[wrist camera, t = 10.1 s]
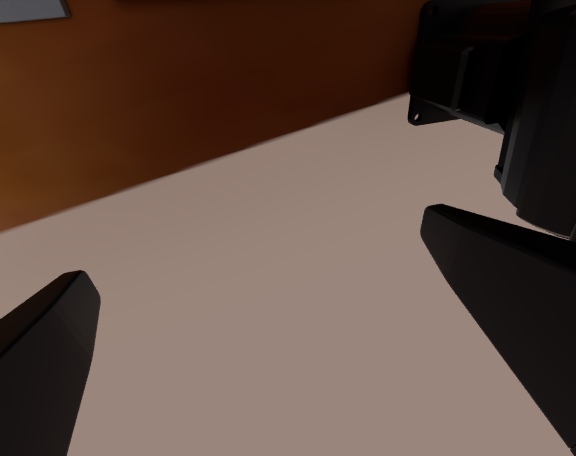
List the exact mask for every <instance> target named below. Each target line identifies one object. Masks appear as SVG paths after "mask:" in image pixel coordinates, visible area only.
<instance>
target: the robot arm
mask: <svg viewBox="0 0 576 456" xmlns="http://www.w3.org/2000/svg"><path fill="white" fill-rule="evenodd" d="M432 7H434V14H433V15H432V16H431V15H430V10H431V8H432ZM409 94H410V103H409V111H408V122H409V123H410V124H412V125H415V126H418V125H425V124H431V123H437V122H444V121H450V120H456V119H463V120H465V121H468V122H471V123H474V124H476V125H479V126H481V127H484V128H487V129H490V130H492V131H495V132H498V133H500V134H503V135H504V138H503V143H502V148H501V153H500V158H499V162H498V165H496V166H495V171H494V177H495V178H496V179H497V180H498V181H499V183H500V184H501V188H502V192H503V195H504V196H505V197H506V198H507V199H508V200H509V201H510V202H511V203H512V204H513V205H514V206H515V207H516V208H517V211H516V215H517V216H518V217H519V218H521V219H522V220H524V221H526V222H528V223H530V224H532V225H533V226H535V227H537V228H539V229H542V230H545V231H547V232H549V233H552V234H554V235H556V236H559V237H563V238H566V239H569V240H566V239H562V238H558V237H555V236H552V235H548V234H545V233H542V232H538V231H535V230H531V229H528V228H524V227H521V226H517V225H514V224H510V223H507V222H503V221H500V220H496V219H493V218H490V217H486V216H482V215H479V214H476V213H472V212H469V211H465V210H462V209H458V208H455V207H451V206H448V205H444V204H436V205H431V206H428V207H426V209H425V211H424V215H423V220H422V225H421V229H420V234H421V237H422V240H423V242H424V243H425V245H426V247H427V249H428V250H429V252H430V254H431V255H432V257H433V259H434V261H435V262H436V264H437V266H438V267H439V269H440V271H441V273H442V274H443V276H444V278H445V279H446V281H447V282H448V284H449V285H450V287H451V288H452V289H453V291H454V292H455V294H456V295H457V296H458V298H459V299H460V300H461V302H462V303H463V304H464V306H465V307H466V309H467V310H468V311H469V313H470V314H471V315H472V317H473V318H474V320H475V321H476V322H477V324H478V325H479V326H480V328H481V329H482V330H483V332H484V333H485V335H486V336H487V337H488V338H489V340H490V341H491V343H492V344H493V345H494V347H495V348H496V349H497V351H498V352H499V354H500V355H501V356H502V357H503V359H504V360H505V362H506V363H507V364H508V366H509V367H510V369H511V370H512V371H513V373H514V374H515V375H516V377H517V378H518V379H519V381H520V382H521V384H522V385H523V386H524V388H525V389H526V390H527V392H528V393H529V394H530V396H531V397H532V399H533V400H534V401H535V403H536V404H537V405H538V407H539V408H540V410H542V412H543V413H544V415H545V416H546V418H547V419H548V420H549V422H550V423H551V425H552V426H553V427H554V429H555V430H556V431H557V433H558V434H559V435H560V437H561V438H562V439H563V441H564V442H565V443H566V445H567V446H568V447H569V448H571V449H570V451H571V452H572V453H573V455H574V456H576V0H524V1H522V0H431V1H428V2H427V3H426V4H425V5H424V7H423V9H422V13H421V20H420V28H419V35H418V43H417V47H416V48H415V53H414V61H413V68H412V76H411V84H410V91H409ZM417 114H418V115H419V116H418V118H417V119H416V120H415V119H414V118H415V116H416V115H417ZM100 303H101V301H100V295H99V293H98V291H97V289H96V287H95V286H94V284H93V283H92V281H91V279H90V278H89V276H88V275H87V273H86V272H85V271H82V270H78V271H73V272H67V273H64V274H62V275H60V276H59V277H58V278H56V279H55V280H54V281H52V282H51V283H49V284H48V285H47V286H45V287H44V288H43V289H41V290H40V291H39V292H37V293H36V294H34V295H33V296H32V297H30V298H29V299H27V300H26V301H25V302H24V303H22V304H21V305H19V306H18V307H16V308H15V309H14V310H12V311H11V312H10V313H8V314H7V315H6V316H4V317H3V318H1V319H0V456H67V452H68V448H69V444H70V441H71V438H72V434H73V430H74V426H75V422H76V419H77V415H78V411H79V408H80V404H81V400H82V396H83V393H84V389H85V385H86V381H87V378H88V374H89V370H90V366H91V361H92V357H93V351H94V345H95V338H96V331H97V324H98V316H99V310H100Z"/></svg>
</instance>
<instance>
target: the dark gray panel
mask: <svg viewBox="0 0 576 456" xmlns="http://www.w3.org/2000/svg"><path fill="white" fill-rule="evenodd" d="M63 17H71V16H70V13H69V11H68V8H67V6H66V3H65V1H64V0H0V23H10V22H21V21H31V20H42V19H52V18H63Z"/></svg>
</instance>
